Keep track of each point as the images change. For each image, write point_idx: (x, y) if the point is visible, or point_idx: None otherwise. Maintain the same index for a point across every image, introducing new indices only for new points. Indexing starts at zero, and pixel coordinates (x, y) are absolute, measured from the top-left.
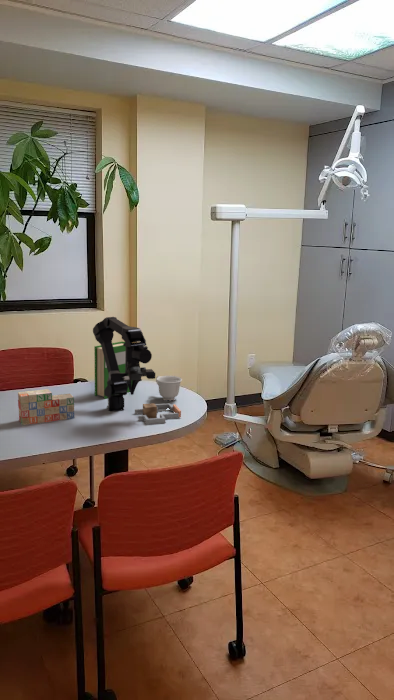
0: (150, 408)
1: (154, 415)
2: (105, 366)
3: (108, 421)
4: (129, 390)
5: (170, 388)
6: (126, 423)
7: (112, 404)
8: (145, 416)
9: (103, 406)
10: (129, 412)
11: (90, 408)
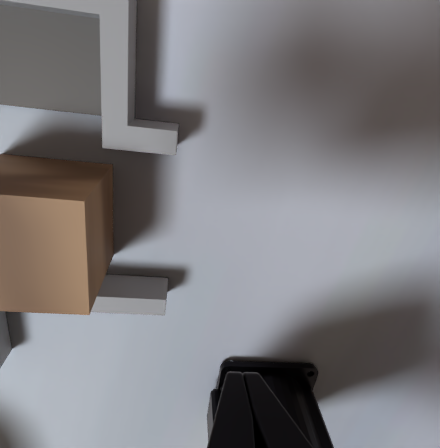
0: (23, 189)
1: (12, 162)
2: None
3: (411, 189)
4: None
5: None
6: (305, 95)
7: (303, 408)
8: (115, 104)
9: None
10: (197, 320)
11: (389, 420)
